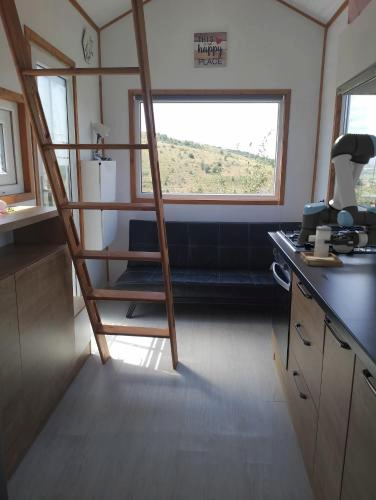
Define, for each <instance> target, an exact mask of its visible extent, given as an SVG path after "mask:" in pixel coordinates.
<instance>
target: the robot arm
mask: <svg viewBox="0 0 376 500" xmlns="http://www.w3.org/2000/svg"><path fill="white" fill-rule="evenodd" d="M375 157H376V135H375V134H368V133H366V134H365V133H351V132H350V133H344V134H342V135H339V136H338V137H337V139H336V140H335V141H334V142H333V145H332V146H331V151H330V158H331V159H330V160H331V164H334V170H335V171H334V172H335V177H336V184H337V188H336V191H335V194H334V197H333V198H332V199H330V200H329V202H328V204H327V205H326V204H325V203H324V202H312V203H307V204H305V205H304V206H303V210H302V221H301V229H300V231H299V234H298V237H297V240H296V243H297V244H298V245H302V246H305V245H304V244H306V243H311V244H315V240H316V231H317V229H316V228H317V227H318V226H325V227H349V228H350V227H351V228H352V227H364V230H357V231H350V230H349V231H346V232H345V234H338V233H331V235H330V238H328V239H317V245H327V244H329V245H331V246H333V245H335V246H336V245H346V246H348V247H353V248H354V247H358V249H359V248H361V247H376V206H368V207H367V209H366V210H359V206H358V201H357V200H358V199H357V193H356V186H357V184H358V182H359V180H360V176H361V174H362V171H363V169H364V166H366V165H368V164H369V162H370V160H371V159H374V158H375Z"/></svg>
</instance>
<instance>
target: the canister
mask: <svg viewBox="0 0 376 500" xmlns="http://www.w3.org/2000/svg"><path fill="white" fill-rule="evenodd" d="M316 229H317V231H316V240H315V246H314V249H313V252H314V256H315V257H320V258H327V257H328V253H330V250H329V249H330V244H327V245H317V239H328V238H330V235H331V234H332V227H331V226H318V227H317V228H316Z"/></svg>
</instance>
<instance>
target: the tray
mask: <svg viewBox="0 0 376 500" xmlns="http://www.w3.org/2000/svg"><path fill="white" fill-rule="evenodd" d="M299 252H300V253H299V257H300V258H301V260H302V261H303V262H304V264H305V265H306V266H311V267H313V266H315V267H331V268H332V267H335V268H343V264H344V263H343V260H341V258H339V257H338V256H336V255H335V254H334V253H332V252H328V257H327V258H320V257H315V256H314V251H313V252H312V251H309V252H308V251H299Z"/></svg>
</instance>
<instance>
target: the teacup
mask: <svg viewBox="0 0 376 500" xmlns="http://www.w3.org/2000/svg"><path fill="white" fill-rule="evenodd" d="M332 248H333V250H334V251H335V252H337V253H340V254H346V253H347V254H349V253H351V251H352V250H353V249H354V247H348V246H346V245H336V246H335V245H332Z"/></svg>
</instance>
